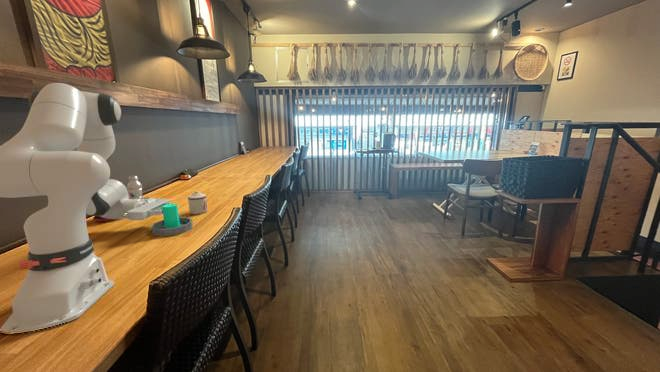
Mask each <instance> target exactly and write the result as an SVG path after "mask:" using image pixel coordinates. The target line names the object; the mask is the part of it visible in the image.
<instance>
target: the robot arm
mask: <svg viewBox="0 0 660 372" xmlns="http://www.w3.org/2000/svg"><path fill="white" fill-rule="evenodd" d="M28 106H29V112H28V115H27V118H26V120H25V122H24V124H23V125H22V128H21V129H20V130H19V132H17V133H16V134H15V135H14V136H13V137H11V138H10V139H9V140H7V141H6V142H4V143H3V144H2V145H0V198H8V199H11V198H25V197H27V198H28V197H38V196H47V200H48V201H47V202H48V203H47V206H46V207H43V208H41V209H40V210H37V211H35V212H34V213H32V214H30V215H29V216H28V217H27V219H25V221H24V224H23V231H24V234H25V238H26V243H27V245H28V249H29V251H28V252H27V253H28V254H27V258H26V260H22V261H20V262H19V263H18V265H17V266H18V269H19V270H20V271H23V270H28V271H27V273H26V275H25V277H24V279H23V281H22V282H21V283H20V287H18V290H17V292H16V294H15V296H14V298H13V299H12V303H11V304H12V306H11V307H12V313H11V314H10V316H9V317H8V319H6V320H5V322H4V323H3V324H2V326H1V327H0V331H4V332H23V331H30V330H35V329H39V328H45V327H51V326H54V327H56V326H55V325H58V326H60V325H59V324H61V325H63V324H62V323H64V324H66V323H65V322H67V323H69V322H71V321H73V320H76V319H78V318H79V317H81V316H82V315H83V314H84V313H85V312H86V311H88V309H90V307H92V306H93V305H94V304H95V303H96V302H97V301H98V300H99V299H100V298H101V297H103V296H104V294H106V293H107V292H108V291H109V290H110V289H111V288H112V287H114V285H115V281H114V280H113V279H109V278H108V275H107V272H106V269H105V266H104V263H103V260H102V258H100V257H98V256H97V255H96V254H95V253H94V251H95V250H94V249H95V248H94V242H93V241H92V238H91V237H89V231H88V226H87V225H88V224H87V216H89V217H95V216H100V217H103V218H109V219H116V220H122V219H128V220H131V221H144V220H146V219H148V218H150V217H153V216H161V215H163V210H162V206H164V205H166V204H169V202H170V204H171V203H172V202H171V200H170V199H169V198H156V197H155V198H153V197H152V196H151V197H150V196H148V197H143V198H142V199H130V196H129V192H128V189H127V185H126V183H124V182H122V181H121V180H118V179H114V178H110V177H111V167H110V165H109V163H108V162H107V160H108V158H110V157H111V155H112V154H113V153H114V152H115V149H116V138H115V137H116V136H115V133H114V130H113V126H114V125H116V124H117V123H119V122H120V121H121V116H122V108H121V106H120V104H119V102H118V99H116V98H115V97H114V96H113V95H110V94H105V93H96V92H89V91H83V90H80V89H78V88H76V87H74V86H72V85H71V84H67V83H62V82H52V83H49V84H47V85H45V86H43V88H37V89H35V90H33V91H31V93H29V95H28ZM15 328H16V329H15ZM51 328H52V327H51ZM12 329H13V330H12Z"/></svg>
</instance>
